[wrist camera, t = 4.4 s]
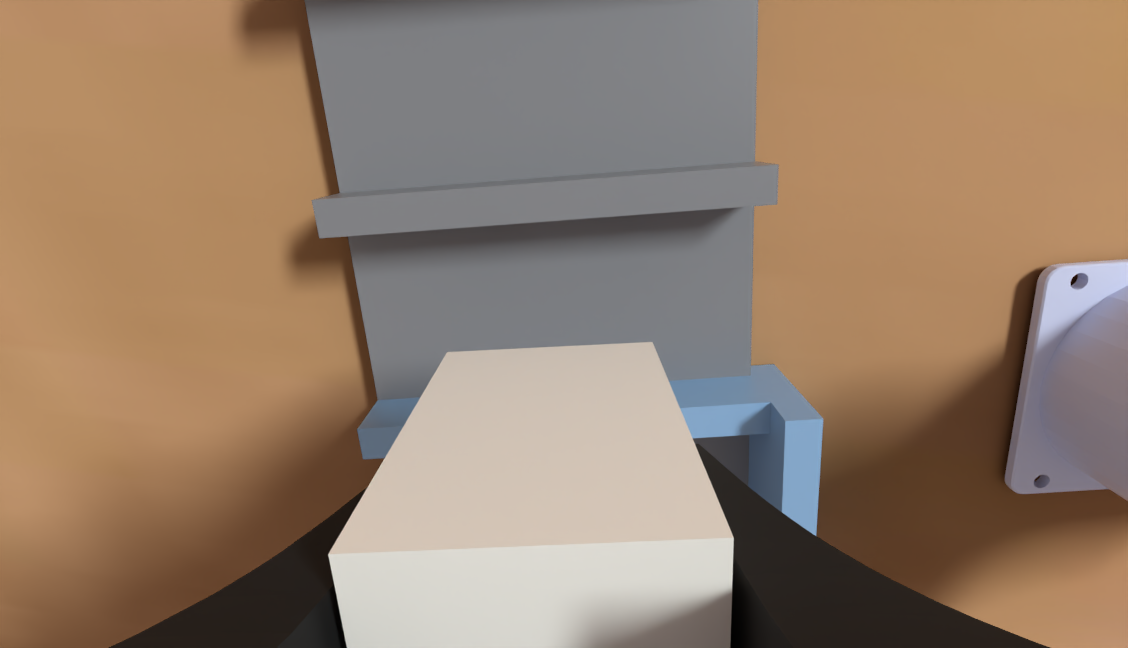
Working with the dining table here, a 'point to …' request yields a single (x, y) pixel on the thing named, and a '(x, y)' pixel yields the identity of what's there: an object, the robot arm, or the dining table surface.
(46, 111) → the dining table surface
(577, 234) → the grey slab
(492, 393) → the block
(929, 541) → the dining table surface
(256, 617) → the robot arm
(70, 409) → the dining table surface
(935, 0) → the dining table surface
